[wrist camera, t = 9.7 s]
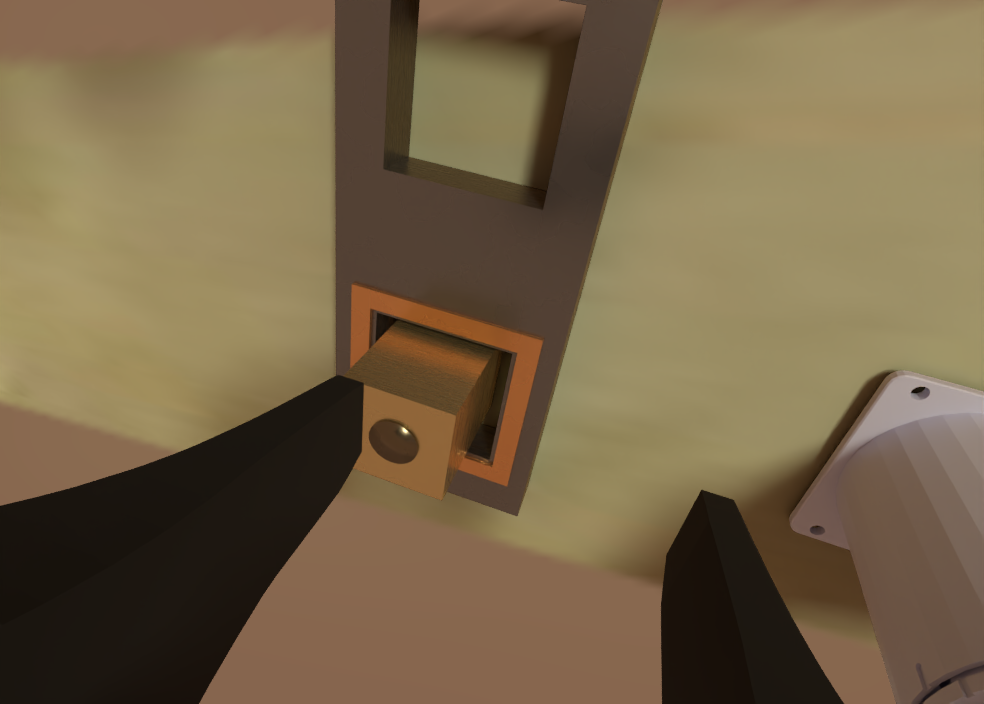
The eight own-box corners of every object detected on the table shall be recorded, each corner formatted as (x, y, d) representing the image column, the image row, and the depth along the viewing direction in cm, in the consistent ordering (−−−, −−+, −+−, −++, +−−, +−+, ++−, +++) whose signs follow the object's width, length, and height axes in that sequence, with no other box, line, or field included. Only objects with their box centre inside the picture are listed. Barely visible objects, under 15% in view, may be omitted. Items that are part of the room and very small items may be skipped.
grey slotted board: (692, -107, 14) (692, -125, 12) (527, 485, 26) (516, 519, 24) (372, -155, 16) (331, -177, 14) (357, 426, 28) (334, 454, 26)
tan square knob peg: (507, 327, 22) (454, 417, 17) (492, 403, 24) (441, 502, 19) (416, 300, 23) (340, 378, 18) (409, 376, 25) (339, 465, 20)
